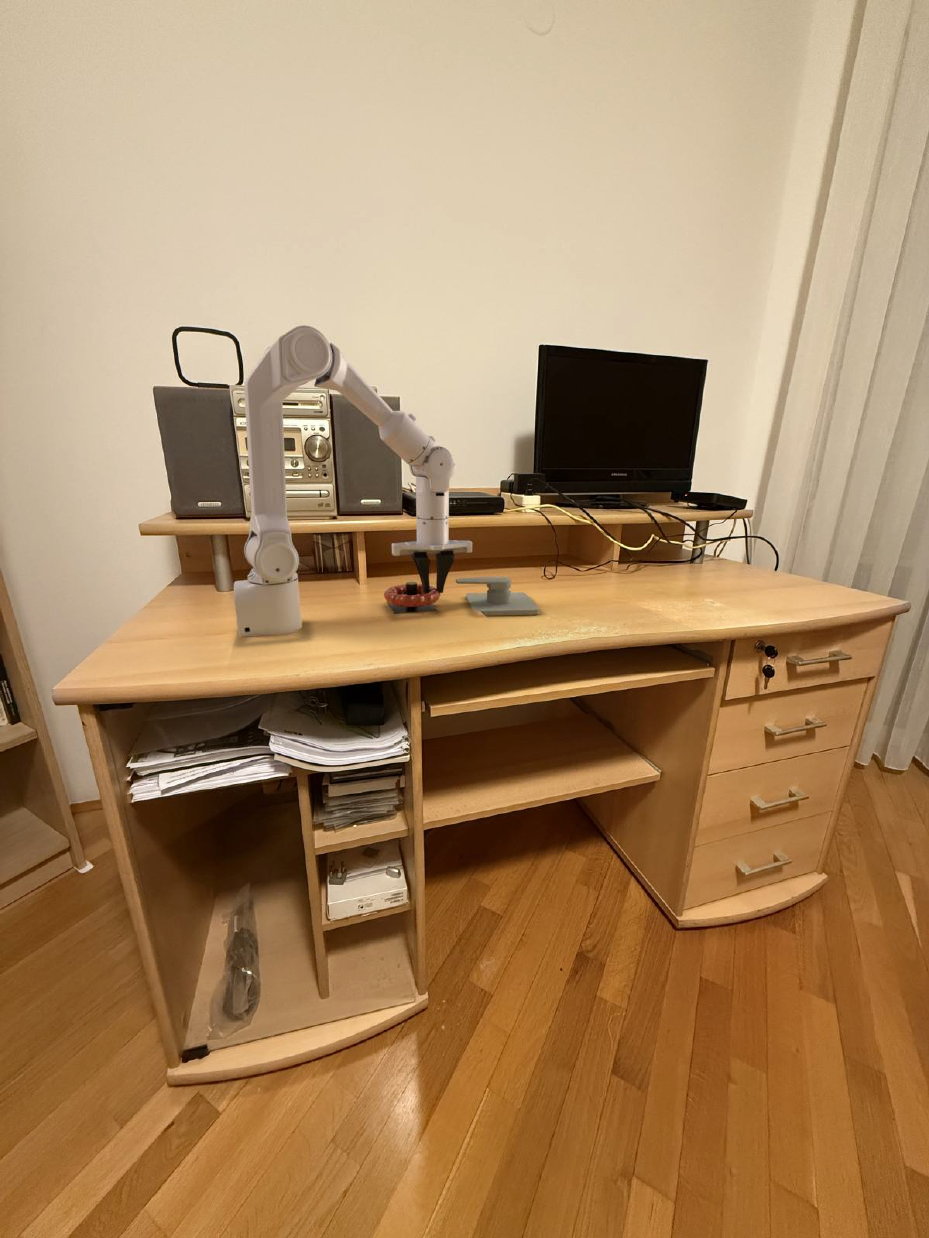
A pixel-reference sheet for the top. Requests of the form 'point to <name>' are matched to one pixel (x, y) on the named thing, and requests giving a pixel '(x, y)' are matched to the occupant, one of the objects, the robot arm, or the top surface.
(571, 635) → the top surface
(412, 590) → the peg stand
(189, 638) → the top surface
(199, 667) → the top surface
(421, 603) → the ring
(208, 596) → the top surface
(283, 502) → the robot arm
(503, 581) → the shower valve
